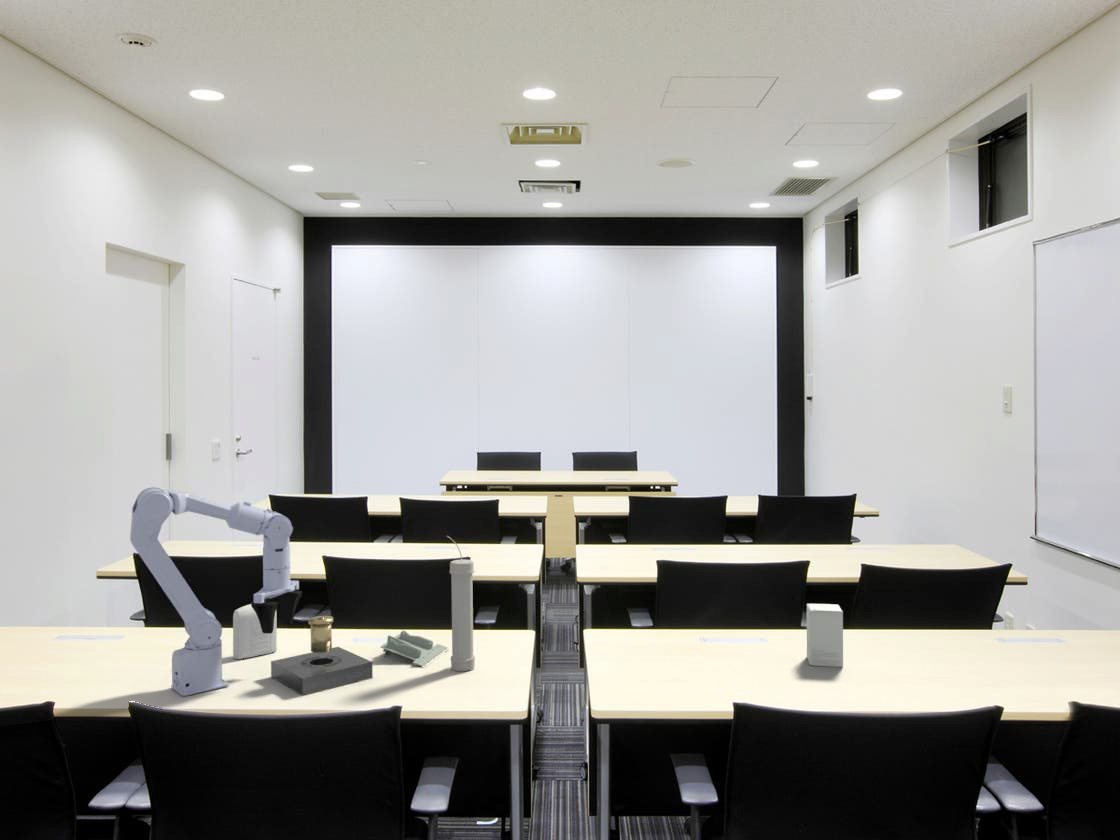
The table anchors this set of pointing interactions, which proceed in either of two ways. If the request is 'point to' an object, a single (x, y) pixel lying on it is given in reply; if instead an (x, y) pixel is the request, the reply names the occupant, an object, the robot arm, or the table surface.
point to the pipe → (462, 614)
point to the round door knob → (321, 633)
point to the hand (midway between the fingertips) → (277, 628)
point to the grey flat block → (321, 670)
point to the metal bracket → (413, 648)
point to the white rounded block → (251, 634)
